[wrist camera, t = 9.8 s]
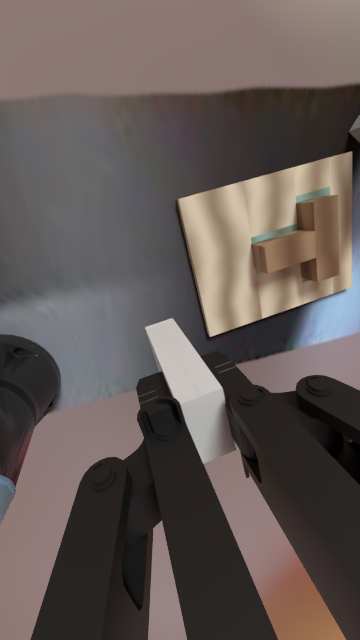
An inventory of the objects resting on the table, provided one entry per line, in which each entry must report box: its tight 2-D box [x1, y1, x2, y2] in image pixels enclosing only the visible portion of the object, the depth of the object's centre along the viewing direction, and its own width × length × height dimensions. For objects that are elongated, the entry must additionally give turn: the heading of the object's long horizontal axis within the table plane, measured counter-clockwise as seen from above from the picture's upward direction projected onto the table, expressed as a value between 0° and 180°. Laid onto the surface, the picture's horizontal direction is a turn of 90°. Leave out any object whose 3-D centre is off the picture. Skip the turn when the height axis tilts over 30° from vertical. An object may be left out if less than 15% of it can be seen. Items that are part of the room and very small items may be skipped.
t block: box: [251, 195, 339, 282], centre depth 43 cm, size 12×12×4 cm
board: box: [176, 151, 352, 337], centre depth 45 cm, size 28×22×1 cm
